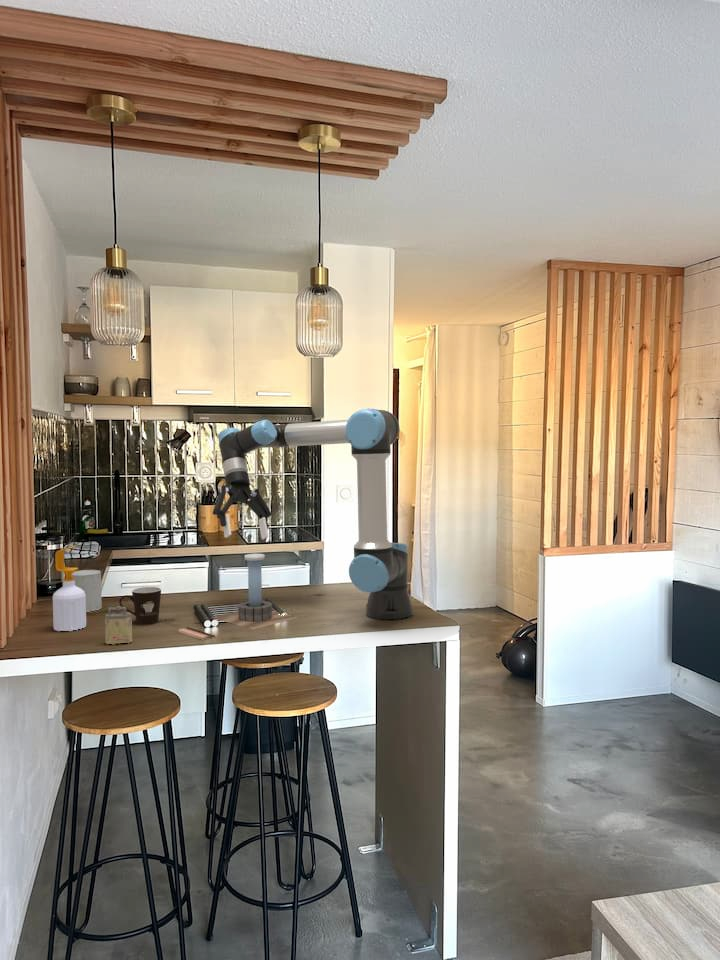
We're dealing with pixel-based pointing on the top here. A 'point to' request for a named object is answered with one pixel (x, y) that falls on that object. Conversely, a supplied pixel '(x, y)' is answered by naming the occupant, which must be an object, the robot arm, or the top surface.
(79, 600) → the soap bottle
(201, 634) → the tile
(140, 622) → the coffee mug
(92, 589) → the grey tapered cup
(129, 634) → the beige rectangular bottle
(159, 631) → the top surface
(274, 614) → the eye plate
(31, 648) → the top surface
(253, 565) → the peg
